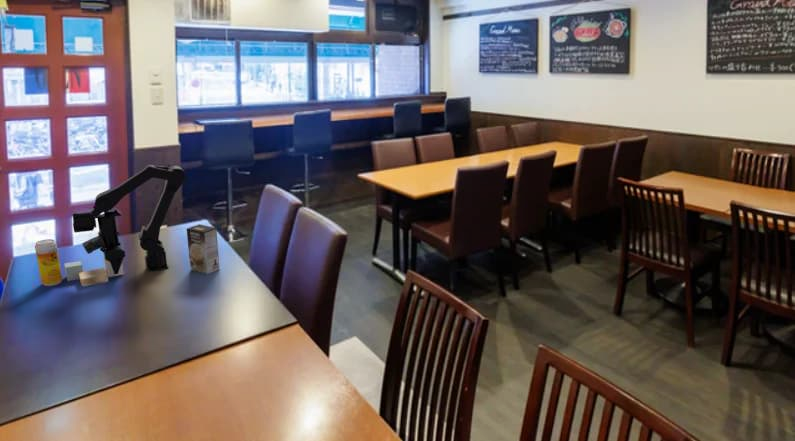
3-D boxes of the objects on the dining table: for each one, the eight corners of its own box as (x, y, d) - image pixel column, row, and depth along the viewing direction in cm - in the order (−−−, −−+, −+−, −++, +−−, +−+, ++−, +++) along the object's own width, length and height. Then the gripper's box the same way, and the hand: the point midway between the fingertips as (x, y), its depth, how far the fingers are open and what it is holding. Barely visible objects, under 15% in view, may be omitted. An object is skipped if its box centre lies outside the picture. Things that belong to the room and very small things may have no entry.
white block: (121, 270, 197) (119, 254, 195) (123, 274, 193) (121, 258, 191) (106, 273, 194) (103, 257, 192) (108, 277, 190) (105, 261, 188)
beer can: (52, 287, 181) (45, 245, 177) (37, 285, 182) (29, 243, 178) (66, 280, 187) (59, 239, 183) (51, 279, 188) (44, 238, 184)
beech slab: (105, 275, 193) (103, 267, 192) (108, 282, 186) (107, 274, 186) (79, 280, 188) (78, 272, 187) (82, 287, 182) (80, 279, 181)
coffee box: (189, 270, 197) (185, 228, 193) (203, 264, 203) (199, 223, 198) (207, 274, 193) (203, 231, 189) (220, 268, 199) (217, 227, 194)
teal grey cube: (82, 274, 193) (80, 260, 192) (84, 278, 189) (82, 264, 188) (66, 276, 190) (64, 263, 189) (67, 281, 187) (65, 267, 185)
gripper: (79, 226, 192) (85, 267, 196) (85, 239, 177) (92, 283, 181) (113, 221, 198) (119, 261, 202) (122, 233, 183) (128, 276, 187)
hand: (114, 270), depth 193 cm, fingers open, 8 cm apart
